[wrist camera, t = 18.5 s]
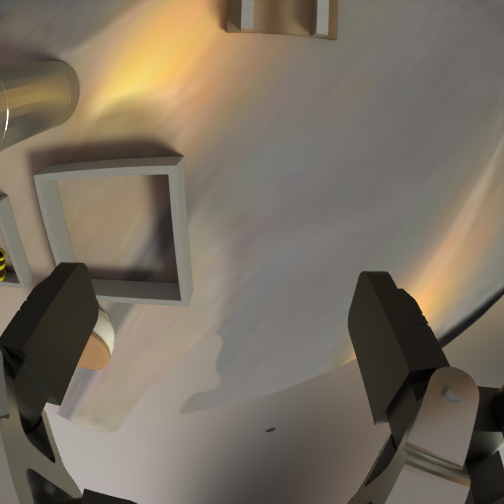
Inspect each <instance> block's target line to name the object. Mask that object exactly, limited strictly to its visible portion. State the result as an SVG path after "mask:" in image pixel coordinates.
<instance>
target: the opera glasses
mask: <svg viewBox="0 0 504 504" xmlns="http://www.w3.org/2000/svg"><path fill="white" fill-rule="evenodd" d="M5 277H6V269H5V251H3V250H2V249H0V281H2V280H4V278H5Z"/></svg>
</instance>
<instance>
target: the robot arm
mask: <svg viewBox="0 0 504 504" xmlns="http://www.w3.org/2000/svg"><path fill="white" fill-rule="evenodd" d="M78 98H79V82H78V78H77V75H76V73H75V72H74V70H73V69H72V68H71V67H70V66H69V65H68V64H66V63H65V62H62V61H42V62H28V63H19V64H11V65H3V66H0V151H2V150H4V149H6V148H8V147H10V146H12V145H14V144H17V143H19V142H21V141H23V140H25V139H27V138H30V137H32V136H34V135H36V134H39V133H41V132H44V131H46V130H48V129H51V128H53V127H56V126H58V125H60V124H62V123H64V122H65V121H66V120H67V119H68V118H69V117H70V116H71V115H72V113H73V111H74V110H75V107H76V105H77V102H78ZM98 315H99V306H98V301H97V298H96V295H95V292H94V289H93V286H92V282H91V279H90V276H89V272H88V269H87V267H86V265H85V264H84V263H75V262H61V263H59V264H58V265H57V267H56V268H55V269H54V271H53V272H52V273H51V275H50V276H49V277H47V278H46V279H45V280H43V281H42V282H41V283H39V284H38V285H37V286H36V287H35V288H34V289H33V290H32V292H31V293H30V295H29V296H28V297H27V301H24V303H23V304H22V306H21V307H20V310H18V311H17V313H16V314H15V316H14V317H13V319H12V320H11V322H10V323H9V325H8V326H7V328H6V329H5V331H4V332H3V334H2V335H1V337H0V504H137V503H135V502H133V501H130V500H126V499H121V498H117V497H113V496H109V495H105V494H101V493H98V492H94V491H91V490H87V489H84V492H83V495H82V493H81V492H80V490H79V488H78V486H77V485H76V483H75V482H74V480H73V479H72V477H71V476H70V475H69V474H68V472H67V471H66V469H65V467H64V465H63V462H62V460H61V457H60V454H59V451H58V448H57V445H56V443H55V440H54V437H53V433H52V430H51V427H50V424H49V420H48V417H47V414H46V412H45V411H44V406H45V404H46V402H48V403H51V404H55V405H59V406H61V403H62V401H63V398H64V396H65V393H66V391H67V388H68V386H69V383H70V381H71V378H72V376H73V374H74V371H75V369H76V367H77V364H78V362H79V360H80V358H81V355H82V353H83V351H84V349H85V346H86V344H87V342H88V340H89V338H90V336H91V333H92V331H93V329H94V327H95V325H96V323H97V320H98ZM348 329H349V334H350V337H351V340H352V344H353V347H354V350H355V354H356V357H357V361H358V364H359V368H360V371H361V375H362V378H363V382H364V386H365V389H366V393H367V396H368V400H369V404H370V408H371V412H372V416H373V419H374V423H375V425H376V424H382V423H389V425H390V428H391V431H390V433H389V434H388V436H387V438H386V440H385V442H384V444H383V446H382V448H381V450H380V451H379V453H378V456H377V457H376V459H375V461H374V463H373V465H372V466H371V468H370V470H369V472H368V474H367V475H366V477H365V479H364V481H363V482H362V484H361V486H360V487H359V489H358V490H357V491H356V493H355V494H354V495H353V497H352V498H351V499H350V500H349V501H348V503H347V504H504V467H503V464H502V460H501V456H500V453H499V449H500V448H501V447H503V446H504V385H503V386H502V387H501V388H490V387H479V386H477V384H476V382H475V381H474V379H473V378H472V377H471V376H470V375H469V374H468V373H466V372H465V371H463V370H461V369H458V368H455V367H450V365H449V363H448V361H447V359H446V357H445V355H444V353H443V351H442V349H441V347H440V345H439V343H438V341H437V339H436V337H435V335H434V333H433V331H432V329H431V328H430V326H428V322H427V320H426V318H425V317H424V316H423V315H422V311H421V309H420V308H419V306H418V304H417V302H416V300H415V299H414V298H413V297H411V296H410V295H409V294H408V293H407V292H406V291H405V290H404V289H398V288H397V287H396V285H395V283H394V281H393V279H392V278H391V276H390V274H389V273H388V272H383V271H363V272H361V273H360V275H359V278H358V282H357V285H356V289H355V293H354V296H353V300H352V303H351V307H350V310H349V315H348Z"/></svg>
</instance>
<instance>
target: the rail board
mask: <svg viewBox="0 0 504 504" xmlns="http://www.w3.org/2000/svg"><path fill="white" fill-rule="evenodd" d="M337 22H338V0H228V8H227V33H266V34H283V35H295V36H305V37H314V38H322V39H329V40H337Z"/></svg>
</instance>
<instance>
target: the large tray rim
mask: <svg viewBox="0 0 504 504" xmlns="http://www.w3.org/2000/svg"><path fill="white" fill-rule="evenodd" d="M156 174H168V175H169V190H170V202H171V214H172V225H173V235H174V245H175V254H176V263H177V271H178V279H179V283H166V282H144V281H125V280H108V279H92V278H90V279H91V282H92V286H93V289H94V292H95V295H96V298H97V300H99V301H110V302H123V303H137V304H152V305H168V306H188V307H189V305H190V300H191V296H192V291H193V283H192V272H191V261H190V250H189V237H188V223H187V209H186V192H185V172H184V156H169V157H143V158H125V159H110V160H97V161H86V162H76V163H66V164H57V165H49V166H47V167H46V168H44V169H42V170H41V171H39V172H38V173H36V174H34V175H33V177H34V182H35V187H36V191H37V196H38V200H39V205H40V209H41V213H42V217H43V221H44V225H45V229H46V232H47V236H48V239H49V243H50V246H51V250H52V253H53V256H54V259H55V262H56V265H58V264H59V263H61V262H75V263H76V260H75V257H74V253H73V249H72V246H71V242H70V238H69V234H68V230H67V226H66V222H65V218H64V213H63V209H62V204H61V200H60V195H59V190H58V185H57V180H65V179H77V178H91V177H108V176H128V175H156Z"/></svg>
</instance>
